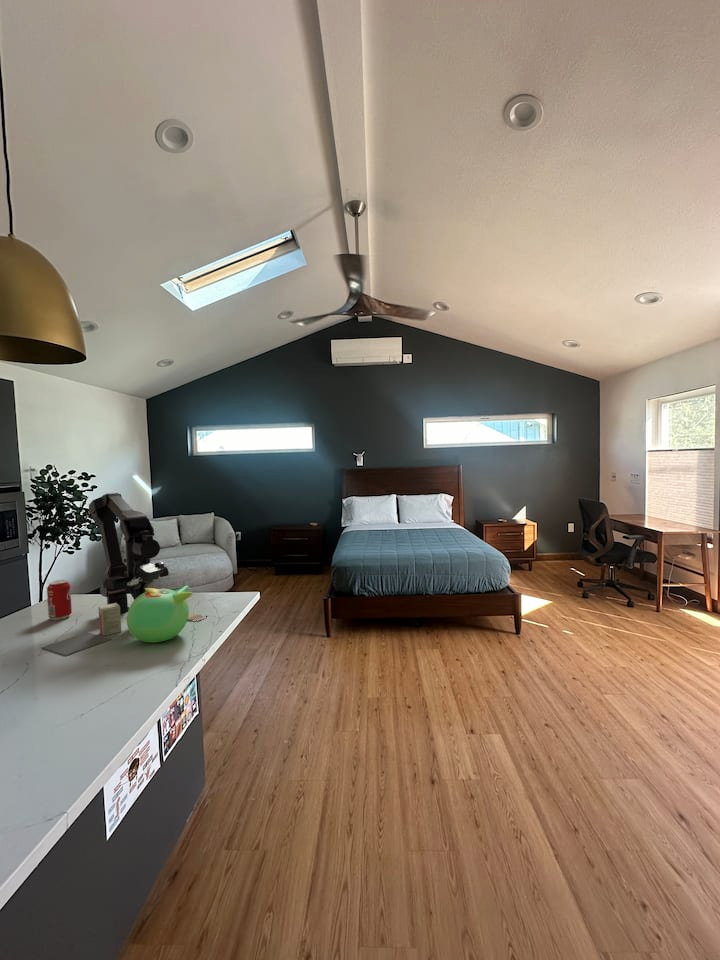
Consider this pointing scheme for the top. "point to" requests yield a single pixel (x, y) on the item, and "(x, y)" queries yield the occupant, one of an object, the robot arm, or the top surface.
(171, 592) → the toy bird
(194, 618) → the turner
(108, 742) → the top surface
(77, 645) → the mat
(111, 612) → the small box
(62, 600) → the beverage can
